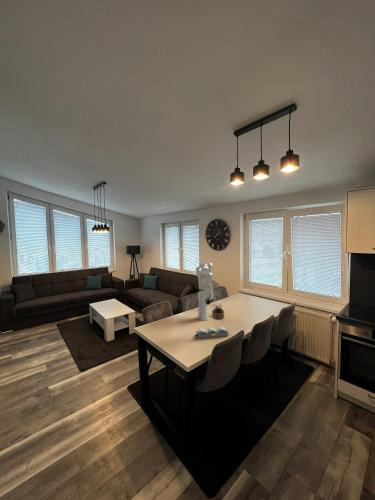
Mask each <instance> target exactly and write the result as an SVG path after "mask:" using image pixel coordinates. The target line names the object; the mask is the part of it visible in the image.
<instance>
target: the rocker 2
mask: <svg viewBox="0 0 375 500" xmlns="http://www.w3.org/2000/svg"><path fill="white" fill-rule="evenodd" d="M216 329H217V328H213V327H210V326H208V327H207V330H210V331H214V332H217V330H216Z"/></svg>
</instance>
